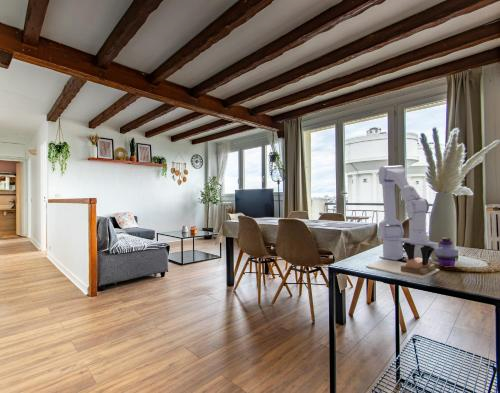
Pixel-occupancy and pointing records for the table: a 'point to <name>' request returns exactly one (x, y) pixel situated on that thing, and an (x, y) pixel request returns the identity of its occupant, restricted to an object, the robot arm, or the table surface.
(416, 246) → the skincare box
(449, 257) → the potion bottle
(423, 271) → the tray
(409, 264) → the salmon orange block
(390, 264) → the mat
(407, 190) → the robot arm
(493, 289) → the table surface
